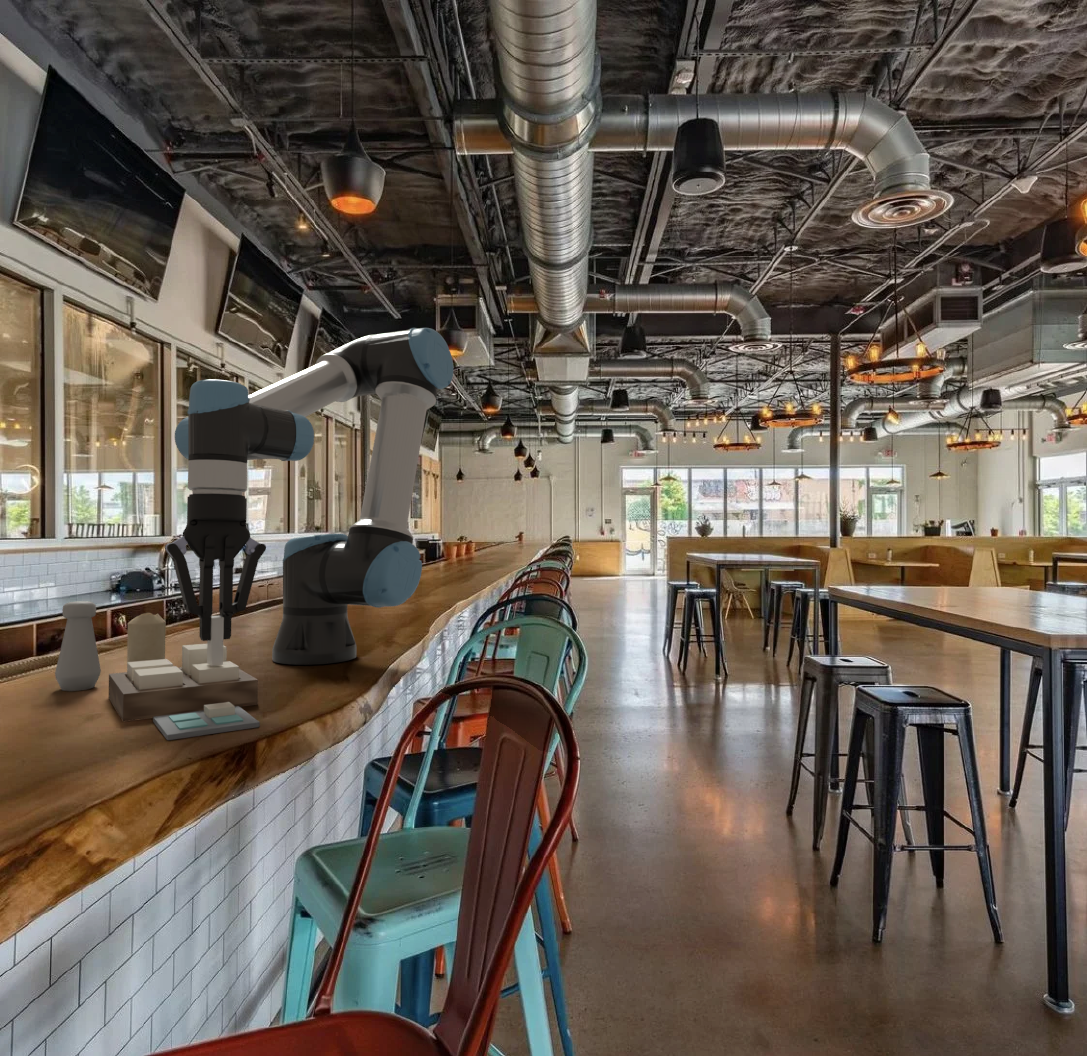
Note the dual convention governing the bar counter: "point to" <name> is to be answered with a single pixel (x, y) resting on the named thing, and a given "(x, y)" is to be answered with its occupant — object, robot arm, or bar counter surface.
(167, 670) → the button
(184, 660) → the back left button
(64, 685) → the salt shaker
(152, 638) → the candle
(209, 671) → the button
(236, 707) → the card
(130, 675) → the button
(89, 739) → the bar counter surface
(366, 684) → the bar counter surface
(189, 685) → the button board
